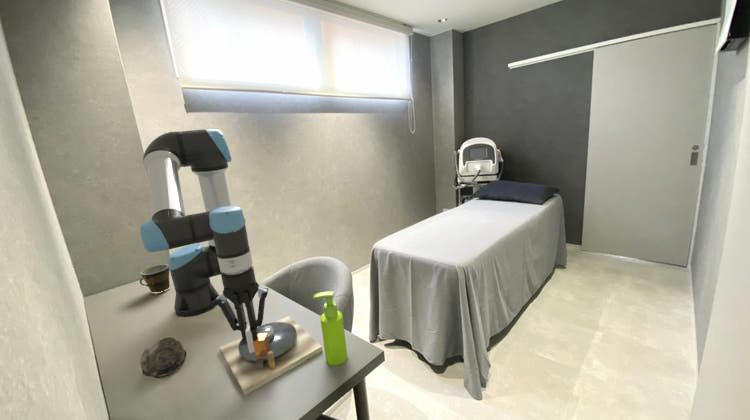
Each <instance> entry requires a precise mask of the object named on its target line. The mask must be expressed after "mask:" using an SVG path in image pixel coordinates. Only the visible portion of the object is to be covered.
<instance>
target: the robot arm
mask: <svg viewBox="0 0 750 420" xmlns="http://www.w3.org/2000/svg"><path fill="white" fill-rule="evenodd" d="M231 162H232V156H231V152H230V149H229V146H228V144H227V140H226V138H225V136H224V134H223V132H222V131H221V130H219V129H215V128H214V129H213V128H211V129H209V128H205V129H203V128H202V129H193V130H192V129H191V130H180V131H175V130H174V131H170V132H166V133H163V134H160V135H158V137H156V138H155V139H153V140H152V141H151V142H150V143H149V144H148V145H147V147H146V149H145V151H144V152H143V157H142V165H143V168H144V169H145V171H146V172H147V175H148V176H147V177H148V194H149V206H150V207H149V209H150V220H149V221H146V222H143V223H142V224H141V225H140V227H139V233H140V238H141V241H142V245H143V248H144V249H145V251H147V252H149V253H157V252H163V251H169V250H173V249H177V248H178V249H177V250H174V251H173V252H172V253H171V254H169V256H168V257H167V263H168V264H167V265H169V273H170V275H171V279H172V282H173V283H172V284H173V288H174V290H175V297H174V298H175V299H174V306H173V309H174V312H175V315H176V316H177V317H179V318H191V317H196V316H200V315H203V314H204V313H207V312H209V311H211V310H213V309H214V308H216V307H219V308H220V309H221V312H222V314H223V316H224V317H225V318H226V320H227V322H228V324H229V326H230V328H231V329H232V331H240V333H241V337H242V339H243V341H247V344H248V349H249V353H253V352H255V351H254V346H253V340H254V339H257V337H258V330H257V327H259V326H262V325H263V321H264V315H265V304H266V298H267V297H268V293H269V288H268V287H265V288H262V287H260V285H259V283H258V282H257V280H256V275H255V270H254V266H253V258H252V253H251V248H250V245H249V244H250V243H249V238H248V237H249V236H248V232H247V226H246V218H245V215H244V212H243V209H242V208H241V207H240V206H235V205H232V203H231V200H230V193H229V188H228V184H227V177H226V172H227V169H229V163H231ZM186 167H190V170H191V172H192V173H193V174H195V175H196V176H197V177H198V182H199V187H200V192H201V196H202V200H203V204H204V205H203V206H204V209H205V211H203V212H198V213H194V214H193V213H192V214H186V211H185V205H184V200H183V193H182V188H181V182H180V175H179V171H180V169H181V168H186ZM204 242H207V244H208V246H203V245H202V244H201V243H204ZM180 247H181V248H180ZM216 276H221V282H222V286H223V291H222V293H221V294H219V293H218V291H217V289H216V288H215V286H214V285H213V284H212V282H211V278H212V277H216ZM256 294H257V296H258V297H259V302H258V310H257V311H258V312H257V317H256V312H255V306H254V300H253V299H254V298H255V296H256ZM228 300H229V301H230V302H231V303H233V305H234V307H233V308H234V309H235V312H234V311H233V308H232V307H231V304H230V303H229V301H228ZM244 307H245V309H246V314H247V318H248V319H247V318H246V314H245V309H244ZM235 313H236V314H235ZM247 320H248V322H247Z"/></svg>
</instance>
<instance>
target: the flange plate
mask: <svg viewBox="0 0 750 420" xmlns="http://www.w3.org/2000/svg"><path fill="white" fill-rule="evenodd" d="M257 330H258V337H257V339H254V340H253V346H254V351H255V352H253V353H249V349H248V344H247V341H243V339H242V340H241V341H240V343H239V353H240V356H241V358H242V359H243V360H245V361H247V362H250V363H256V368H257V369H259V368H264V366H265V363H266V362H268V359H267V353H268V352H269V351H272V352H273V355H274V360H275V359H277V358H279V357H281V356H283V355H284V354H286V353H287V352H288V351H290V350H291V349H292V348H293V346H294V345H295V343H296V341H297V333H296V329H295V327H294V326H293V325H291V324H289V323H285V322H276V321H274V322H268V323H265V324H262V325H261V326H258V327H257Z"/></svg>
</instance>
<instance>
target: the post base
mask: <svg viewBox="0 0 750 420" xmlns="http://www.w3.org/2000/svg"><path fill="white" fill-rule="evenodd" d="M275 322H285V323H289V324H291V325H293V326H294V327H295V329H296V333H297V341H296V343H295V345H294V346H293V348H292V349H291V350H290V351H288V352H287V353H286V354H284V355H283V356H281V357H279V358H277V359H275V360H274V355H273V352H272V351H269V352H268V353H267V359H268V362H266V363H265V366H264V368H259V369H257V368H256V363H250V362H247V361H245V360H243V359H242V358H241V356H240V353H239V343H240V341H241V340H242V336H241V337H239V338H237V339H234V340H233V341H231V342H228V343H226V344H224V345H222V346H219V351H220V353H221V355H222V356H223V359H224V361H225V362H226V364H227V366H228V367H229V369H230V371H231V373H232V374H233V377H234V378H235V380H236V382H237V384H238V385H239V388H240V389H241V390H242V392H243V394H244V396H246V395H248V394H250V393H251V392H253V391H256V390H257V389H258V388H260V387H262V386H264V385H265V384H267V383H269V382H270V381H273V380H274V379H276V378H278V377H279V376H281V375H283V374H285V373H286V372H287V373H288V371H290V370H292V369H293V368H295V367H297V366H299V365H301V364H302V363H304V362H305V361H308V360H309V359H311V358H312V357H315V356H317V355H318V354H319V353H321V352H323V346H322V345H321V344H320V343H319V342H318V341H316V340H315V339H314V338H313V336H311V335H310V334H309V333H308V332H306V330H305V329H304V328H302V327H301V326H300V325H299V324H298V323H297V322H296V321H295V320H294V319H292V317H291V316H289V315H287V316H285V317H283V318H280V319H278V320H277V321H275ZM314 355H315V356H314ZM307 359H308V360H307Z"/></svg>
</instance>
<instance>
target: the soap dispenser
mask: <svg viewBox="0 0 750 420" xmlns="http://www.w3.org/2000/svg"><path fill="white" fill-rule="evenodd" d="M334 297H335V292H334V291H321V292H317V293H315V294H313V297H312V299H313V300H317V299H322V298H325V303H324V304H323V313H322V314H321V315H320V317H319V320H320V325H321V327H320V328H321V333H322V341H323V347H324V354H325V361H326V363H328V365H331V366H339V365H341V364H343V363H345V362H346V361H347V358H348V351H347V343H346V341H347V340H346V335H345V326H344V325H345V324H344V317H343V313H342V312H341V311H340V310H338V307H337V302H335V301H334V300H333V298H334Z"/></svg>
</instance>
